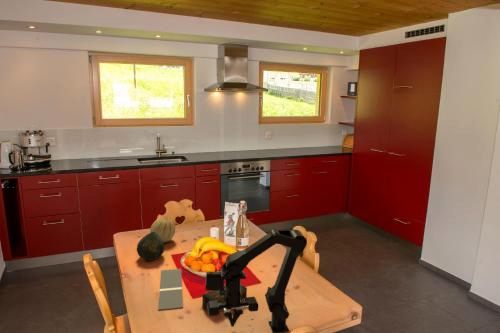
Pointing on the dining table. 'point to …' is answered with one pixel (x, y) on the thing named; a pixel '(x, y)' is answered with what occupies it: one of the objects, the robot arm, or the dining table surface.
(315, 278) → the dining table surface
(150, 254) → the squash
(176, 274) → the strip
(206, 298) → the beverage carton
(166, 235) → the cantaloupe
